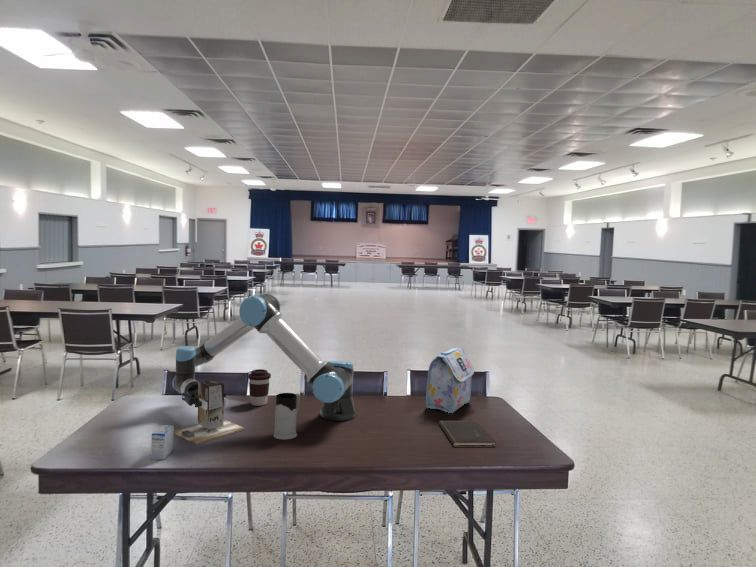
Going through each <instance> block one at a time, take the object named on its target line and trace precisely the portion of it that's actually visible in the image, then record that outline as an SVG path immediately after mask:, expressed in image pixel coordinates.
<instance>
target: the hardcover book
mask: <svg viewBox="0 0 756 567" xmlns="http://www.w3.org/2000/svg"><path fill="white" fill-rule="evenodd" d="M438 425H440V426H441V427H440V426H439V427H440V429H441V428H442V429H443V430H442V429H441V430H442V432H443V431H444V432H445V433H444V432H443V433H444V435H445V434H446V435H447V436H446V435H445V436H446V438H447V437H448V438H449V439H448V438H447V439H448V440H450V441H451V442H450V441H449V442H450V443H452V444H453V445H452V444H451V445H452V447H453V446H454V445H492V444H496V443H497V441H496V440H495V439H494V438H493V437H492V436H491V435H490V433H488V431H487V430H486V429H485V428H484V427H483V426H482V424H480V423H479V422H478V420H439V422H438ZM454 447H455V446H454Z"/></svg>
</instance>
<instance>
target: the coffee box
mask: <svg viewBox="0 0 756 567" xmlns="http://www.w3.org/2000/svg"><path fill="white" fill-rule="evenodd" d="M224 393H225V383H223V382H220V381H218V380H215V379H207V380H203V381H199V382H198V400H199V398H201V399H203V400H205V401H206V402H208V407H207V410H204V409H203V408H202V407H200V406H198V407H197V424H200V425H201V426H203V427H205V428H207V429H213V428H217V427H221V426H223V423H224V420H225V419H224V415H225V413H224V411H225V406H224Z"/></svg>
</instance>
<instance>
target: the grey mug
mask: <svg viewBox="0 0 756 567" xmlns="http://www.w3.org/2000/svg"><path fill="white" fill-rule="evenodd" d="M300 404H301V396H300V394H299V393H292V392H281V393H277V394H276V396H275V407H274V408H275V409H274V410H275V412H274V433H273V434H272V435H273V437H274V439H277V440H291V439H294V438H296V437H297V436H298V433H297V414H298V412H299V409H300Z"/></svg>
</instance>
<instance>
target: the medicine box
mask: <svg viewBox="0 0 756 567" xmlns="http://www.w3.org/2000/svg"><path fill="white" fill-rule="evenodd" d="M174 426H175V425H171V424H166V425H165V424H161V425H160V426H158V428H157V429H155V430H154V431H153V432H152V433H151V439H150V440H151V444H150V445H151V446H150V447H151V448H150V459H151V460H152V461H153V460H156V461H157V460H158V461H160V460H161V461H164V460H166V458H167V457H168V456H169V455H170V453H171V452H172V451H173V450H174V435H175V434H174V430H175V427H174Z"/></svg>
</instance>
